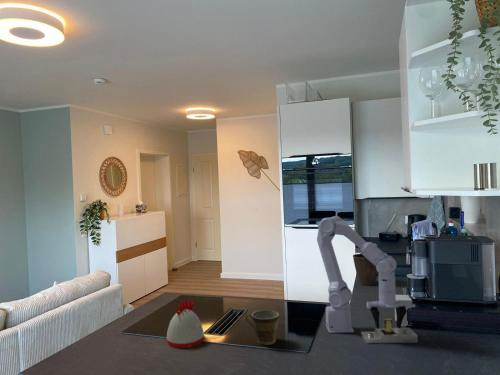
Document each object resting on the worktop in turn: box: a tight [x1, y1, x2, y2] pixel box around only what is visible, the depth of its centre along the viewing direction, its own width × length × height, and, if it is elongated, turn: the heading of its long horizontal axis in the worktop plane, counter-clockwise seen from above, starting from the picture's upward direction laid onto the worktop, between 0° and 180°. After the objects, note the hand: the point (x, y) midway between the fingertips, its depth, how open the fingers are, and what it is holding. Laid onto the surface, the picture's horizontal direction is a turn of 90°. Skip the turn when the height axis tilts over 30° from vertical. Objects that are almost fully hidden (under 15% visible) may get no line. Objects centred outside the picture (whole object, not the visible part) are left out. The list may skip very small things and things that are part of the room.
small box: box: [394, 294, 413, 328], centre depth 153 cm, size 8×6×10 cm
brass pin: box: [383, 317, 394, 335], centre depth 139 cm, size 3×3×7 cm
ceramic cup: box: [245, 309, 280, 346], centre depth 140 cm, size 13×10×10 cm
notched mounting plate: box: [360, 327, 419, 344], centre depth 139 cm, size 18×8×3 cm, turn 88°
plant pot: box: [352, 253, 379, 287], centre depth 214 cm, size 15×15×16 cm
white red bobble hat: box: [166, 299, 205, 349], centre depth 143 cm, size 14×14×15 cm
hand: (388, 327), depth 139 cm, fingers open, 7 cm apart
